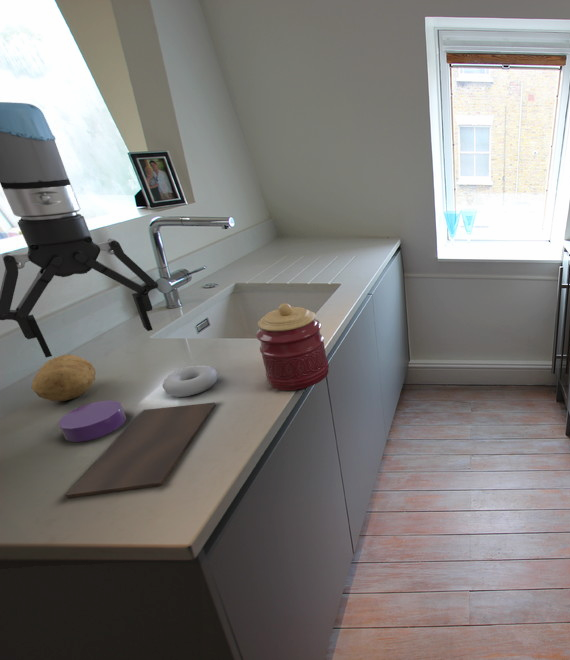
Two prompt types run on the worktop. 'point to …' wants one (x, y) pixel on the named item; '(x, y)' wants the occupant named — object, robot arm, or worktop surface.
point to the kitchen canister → (292, 348)
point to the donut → (190, 381)
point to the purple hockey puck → (92, 421)
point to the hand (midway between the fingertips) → (101, 340)
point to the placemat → (144, 450)
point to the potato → (64, 378)
